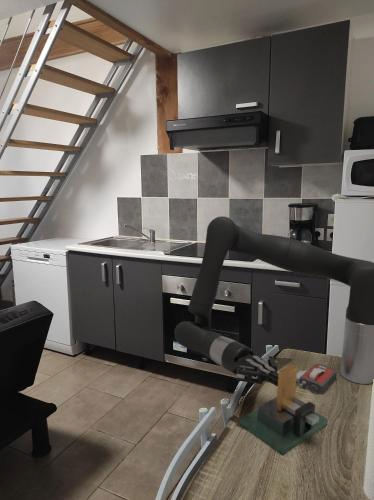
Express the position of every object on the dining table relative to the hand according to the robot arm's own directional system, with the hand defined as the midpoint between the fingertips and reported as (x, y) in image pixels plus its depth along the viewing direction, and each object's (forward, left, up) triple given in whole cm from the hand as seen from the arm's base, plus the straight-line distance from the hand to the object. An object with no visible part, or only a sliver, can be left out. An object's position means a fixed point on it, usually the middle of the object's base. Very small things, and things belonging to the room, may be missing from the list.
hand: (284, 383), depth 82 cm
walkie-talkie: (-19, -6, -11) cm, 23 cm away
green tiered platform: (0, 0, -10) cm, 10 cm away
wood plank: (0, +4, -5) cm, 7 cm away
